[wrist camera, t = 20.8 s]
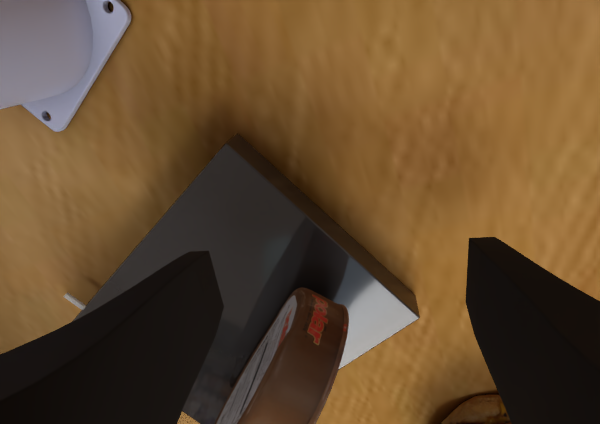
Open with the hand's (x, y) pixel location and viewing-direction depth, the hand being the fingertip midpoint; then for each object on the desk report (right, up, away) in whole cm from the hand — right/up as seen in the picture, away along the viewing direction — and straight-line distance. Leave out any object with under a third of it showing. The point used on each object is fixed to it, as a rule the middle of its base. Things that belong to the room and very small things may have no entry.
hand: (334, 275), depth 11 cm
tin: (-3, -7, +13) cm, 15 cm away
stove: (-5, -4, +15) cm, 16 cm away
